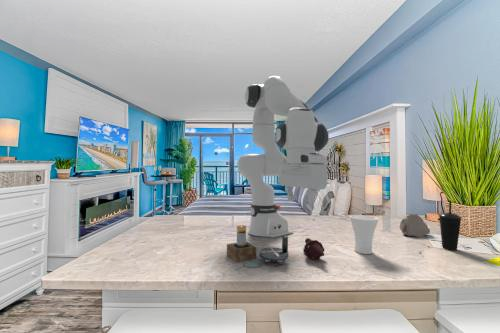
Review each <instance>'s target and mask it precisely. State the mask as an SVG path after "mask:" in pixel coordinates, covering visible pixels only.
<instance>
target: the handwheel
mask: <svg viewBox="0 0 500 333" xmlns="http://www.w3.org/2000/svg"><path fill="white" fill-rule="evenodd" d="M281 240H282V241H281V248H280V247H271V246H270V247H265V248H262V249H260V250H259V257H260V258H261V259H263V260H272V261H280V260H282V261H285V260H287V259H288V258H289V256H290V255H289V237H288V236H285V235H282V237H281Z"/></svg>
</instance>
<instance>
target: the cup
mask: <svg viewBox="0 0 500 333" xmlns="http://www.w3.org/2000/svg"><path fill="white" fill-rule="evenodd" d="M349 219H350V222H351V225H352V229H353V233H354V241H355V242H354V251H355V252H356V253H358V254H363V255H371V254H373V239H374V234H375V230H376V228H377V225H378V223H379V220H380V219H379V218H378V217H376V216H371V215H366V214H365V215H364V214H353V215H350V216H349Z"/></svg>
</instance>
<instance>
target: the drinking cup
mask: <svg viewBox="0 0 500 333" xmlns="http://www.w3.org/2000/svg"><path fill="white" fill-rule="evenodd" d="M448 202H449V203H448V212H443V213H440V214H438V217H439V225H440V238H441V239H440V240H441V248H442V247H443V248H444V250H446V251H452V252H453V251H458V245H459V236H460V229H461V223H462V222H461V221H462V219H463V217H462V216H460V215H459V214H456V213H453V212H452V200H448ZM443 248H442V249H443Z"/></svg>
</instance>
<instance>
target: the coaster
mask: <svg viewBox="0 0 500 333" xmlns="http://www.w3.org/2000/svg"><path fill="white" fill-rule="evenodd" d="M243 266H244V267H246V268H249V269H255V268H259V267H261V262H260V261H258V260H255V259H250V260H245V261H244V262H243Z"/></svg>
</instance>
